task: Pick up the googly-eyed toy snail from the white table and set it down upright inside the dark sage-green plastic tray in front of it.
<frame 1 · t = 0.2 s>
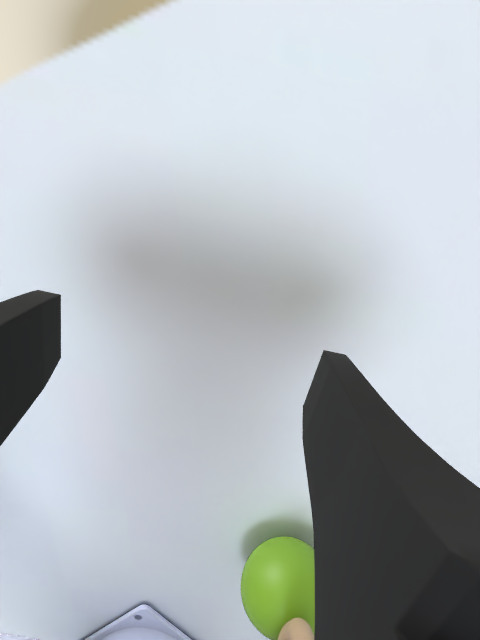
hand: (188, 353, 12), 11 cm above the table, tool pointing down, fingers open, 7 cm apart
googly-eyed toy snail: (284, 540, 28), on the table
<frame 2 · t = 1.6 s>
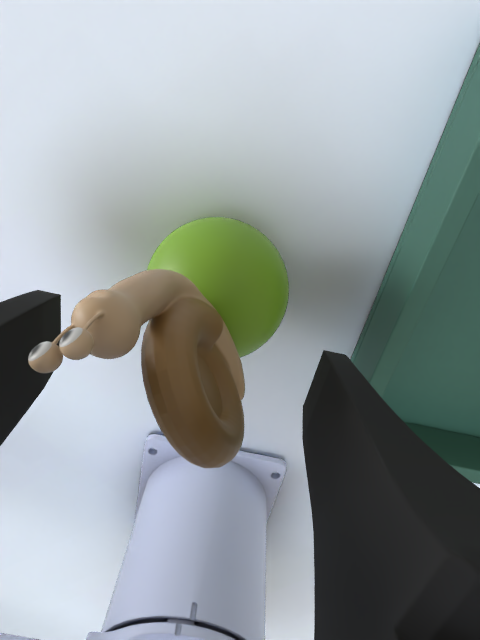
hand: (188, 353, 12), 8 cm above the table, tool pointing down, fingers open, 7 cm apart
googly-eyed toy snail: (219, 252, 19), on the table
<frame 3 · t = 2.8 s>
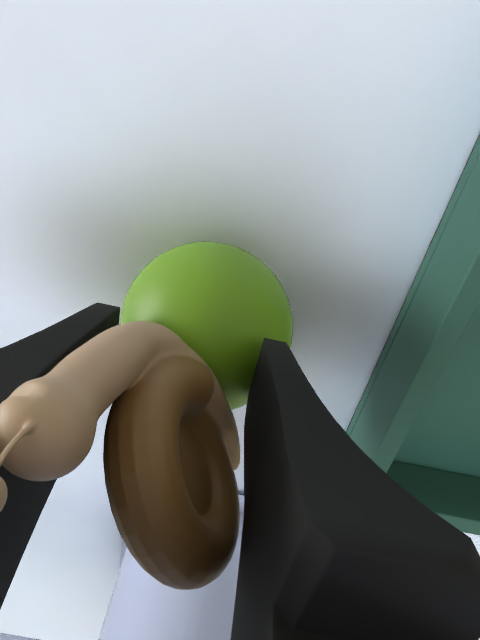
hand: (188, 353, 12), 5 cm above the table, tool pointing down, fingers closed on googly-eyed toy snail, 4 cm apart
googly-eyed toy snail: (210, 277, 16), on the table, touching gripper
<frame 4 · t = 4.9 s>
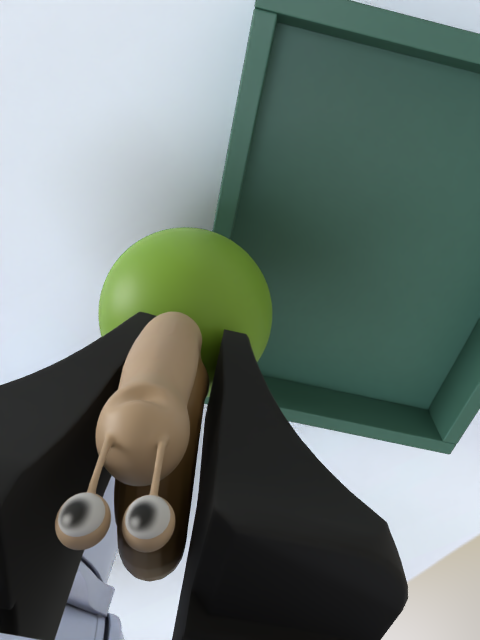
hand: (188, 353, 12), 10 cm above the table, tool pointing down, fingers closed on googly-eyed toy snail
googly-eyed toy snail: (194, 259, 16), point 5 cm above the table, touching gripper
tray: (365, 252, 21), on the table
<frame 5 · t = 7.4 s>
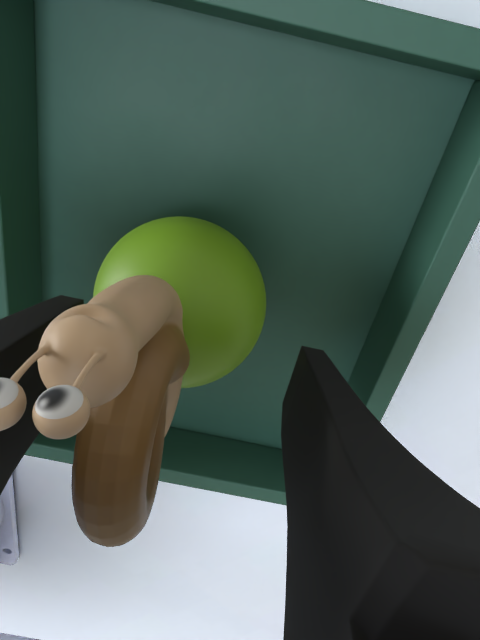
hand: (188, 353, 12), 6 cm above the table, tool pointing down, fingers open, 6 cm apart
googly-eyed toy snail: (196, 256, 16), resting on tray
tray: (213, 271, 17), on the table
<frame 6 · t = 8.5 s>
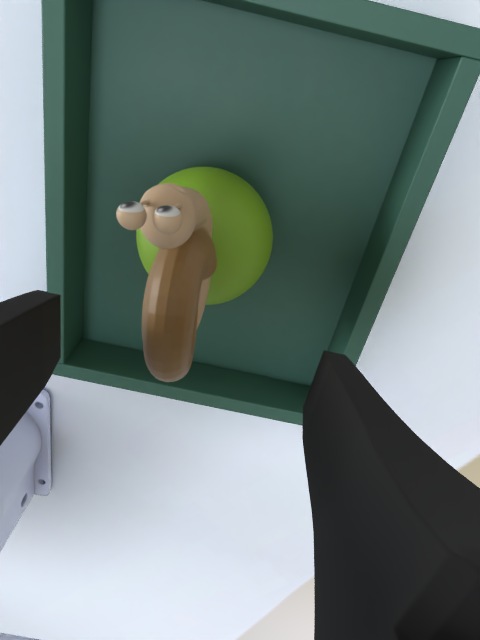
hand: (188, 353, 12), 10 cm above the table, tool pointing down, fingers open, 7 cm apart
googly-eyed toy snail: (214, 206, 20), resting on tray
tray: (228, 221, 20), on the table
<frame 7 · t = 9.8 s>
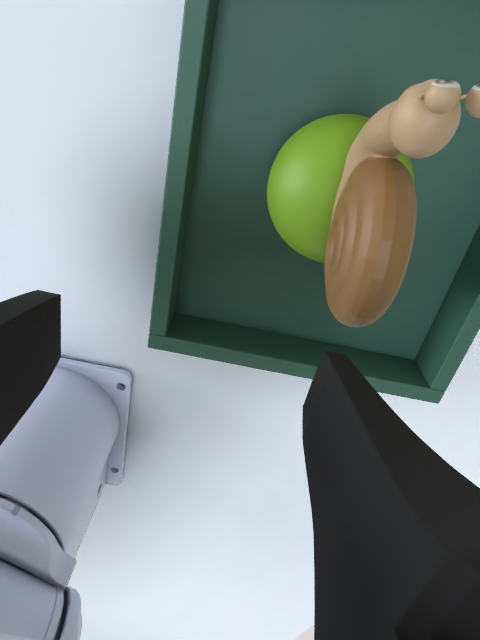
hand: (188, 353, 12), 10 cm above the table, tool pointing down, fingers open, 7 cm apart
googly-eyed toy snail: (330, 166, 19), resting on tray
tray: (341, 182, 19), on the table
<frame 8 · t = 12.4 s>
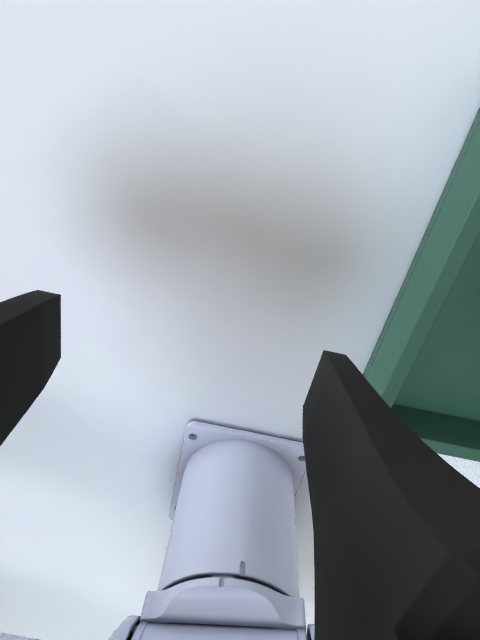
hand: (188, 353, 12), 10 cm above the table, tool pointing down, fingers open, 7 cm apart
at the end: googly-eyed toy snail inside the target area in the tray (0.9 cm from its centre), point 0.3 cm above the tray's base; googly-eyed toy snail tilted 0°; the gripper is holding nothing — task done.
